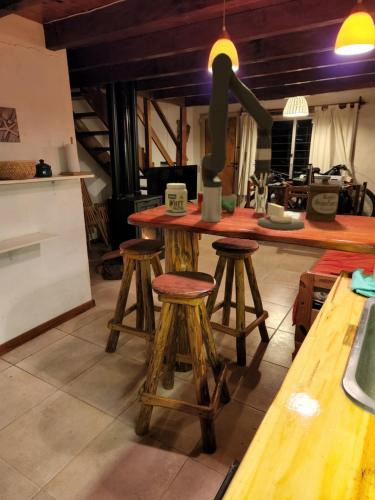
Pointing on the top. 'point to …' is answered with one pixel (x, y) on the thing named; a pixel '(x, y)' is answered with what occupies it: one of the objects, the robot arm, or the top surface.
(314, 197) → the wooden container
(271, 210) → the dial lever
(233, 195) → the food container
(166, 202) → the supplement tub
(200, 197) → the canned food
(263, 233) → the top surface
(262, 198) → the beer glass
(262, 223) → the dial base
